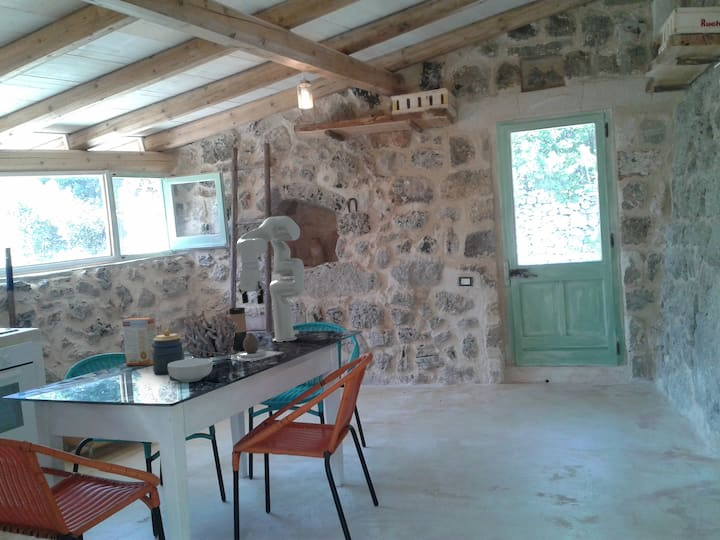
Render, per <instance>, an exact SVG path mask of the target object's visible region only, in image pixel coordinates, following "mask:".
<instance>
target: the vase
mask: <svg viewBox="0 0 720 540" xmlns="http://www.w3.org/2000/svg"><path fill="white" fill-rule="evenodd" d="M259 346H260V344H259V340H258V338H257V336H256V335H255V334H254V332H248V333H247V336H246V338H245V339H244V342H243V347H244V350H243V351H246V352H247V353H255V352H256V351H257V350H259Z"/></svg>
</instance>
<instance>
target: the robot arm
mask: <svg viewBox="0 0 720 540" xmlns="http://www.w3.org/2000/svg"><path fill="white" fill-rule="evenodd" d="M300 236H301V229H300V227H299V225H298V224H297V223H296V222H295V221H294V220H293V219H292V218H291V217H290V216H286V215H280V216H279V215H278V216H277V215H275V216H270V217H267V218H266V219H264V221H262V223H261V224H260V225H259V226H258V227H257V228H255V229H252V230H250V231H247V232H246V233H244V234H243V235H241V237H240V238H239V239H238V240H237V243H236V251H237V254H239V255H240V263H241V264H240V267H241V269H240V273H239V284H237V289H238V291H239V294H240V295H241V300H242V304H249V295H248V294H247V293H248V292H256V294H257V296H256V297H257V298H256V299H257V304H258V305H261V304H264V295H265V292H266V288H267V285H266V284H265V283H264V282H262V276H261V271H260V269H259V263H258V262H259V260H258V259H259V258H258V255H261V254H262V255H263V254H264V253H266V252H267V250H268V243H269V242H270V243H271V246H272V248H273V274H274V275H275V277H276V278H277V277H278V278H279V279H275V280H272V281H271V282H270V284H269V293H270V297H271V302H272V312H273V313H272V314H273V315H272V316H273V328H274V337H273V338H271V341H272V342H274V341H276V342H277V343H283V341H286V342H291V341H292V342H293V341H295V340H297V338H298V337H297V336H295V335H299V333H300V331H299V330H298V329H297V330H296V329H295V330H294V327H293V326H294V325H293V324H294V323H293V313H292V304H291V302H290V301H289V300H288V299H287V298H299V297H301V296H302V295H303V293H304V287H305V284H304V283H305V264H304V261H303V260H302V259H301V258H297V257H295V258H294V257H293V258H291V249H290V247H289V245H288V244H287V243H286V241H297V240H298V239H299V238H300Z"/></svg>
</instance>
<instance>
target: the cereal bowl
mask: <svg viewBox="0 0 720 540" xmlns="http://www.w3.org/2000/svg"><path fill="white" fill-rule="evenodd" d="M212 370H213V360H212V359H210V358H187V359H185V360H179V361H174V362H171V363H169V364H168V372H169V374H168V375H169V376H170V377H172V378H173V379H174V380H177V381H179V382H180V383H196V382H198V381H202V379H203V378H205V377H208V375H210V374H211V372H212Z"/></svg>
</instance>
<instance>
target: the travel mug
mask: <svg viewBox="0 0 720 540" xmlns="http://www.w3.org/2000/svg"><path fill="white" fill-rule="evenodd" d="M228 312H229V313H228V314H229V319H230V318H231V319H232V320H233V321H234V322H235V323H237V330H236V332H235V337H234V345H233V349H232V351H243V350H242V349H244V347H243V342H244V339H245V338H246V336H247V334H248V333H247V321H246V312H245V307H230V308H229V309H228Z"/></svg>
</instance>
